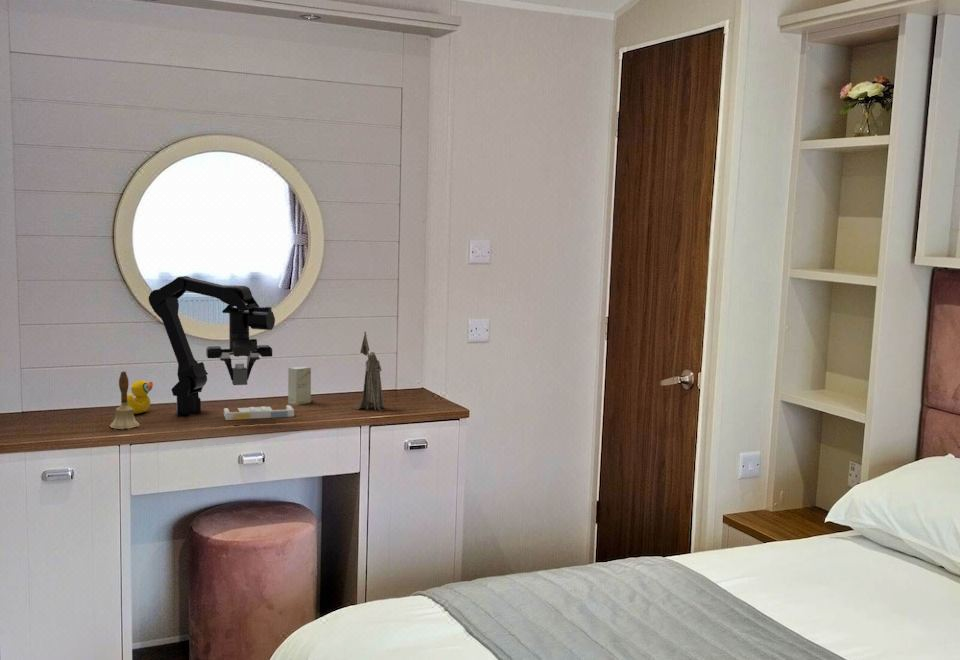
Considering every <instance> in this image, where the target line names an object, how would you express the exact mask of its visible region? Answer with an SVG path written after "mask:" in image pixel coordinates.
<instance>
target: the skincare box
mask: <svg viewBox="0 0 960 660" xmlns="http://www.w3.org/2000/svg"><path fill="white" fill-rule="evenodd" d="M311 368H312V367H310V366H304V365H300V366H294V367H288V370H287V373H288V374H287V375H288V376H287V377H288V379H287V382H288V386H287V387H288V388H287V391H288V392H287V396H288V397H287V399H288V400H287V403H288V405H295V406H301V405H305V404H309V403H311V402H312V379H311V378H312V377H311V376H312V375H311V374H312V372H311V371H312V369H311Z"/></svg>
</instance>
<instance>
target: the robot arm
mask: <svg viewBox="0 0 960 660" xmlns="http://www.w3.org/2000/svg"><path fill="white" fill-rule="evenodd" d="M186 292H190V293H195V294H199V295H203V296H207V297H211V298H216V299H218V300H219V301H221V302H222V303H225V304H226V307H225V308H224V309H223V310H222V311H221V312H222V313H223V314H228V315H229V323H228V324H229V325H228V328H229V329H228V331H229V335H228V336H229V337H228V338H229V348H222V347H221V346H207V347H206V353H205V355H206V356H205V357H207V359H219V360H220V361H221V362H224V364H225V366H226V369H227V371H228V374H229V377H230V380H231V382H232V381H233V372H232V368H233V365H232V358H231V356H234V357H238V358H239V357H247V358H246V369H247V381H249V377H250V375H251V372H252V369H253V366H254V364H255V363H256V361H259V360H260V356H261V357H262V358H266V357H268V358H269V357H273V348H272V347H271V346H270V345H268V344H262V345H261V344H258V340H257V339H256V338H250V329H252V330H260V331H261V330H263V331H272V330H273V329H274V327H275V323H276V318H275V313H274V312H273V311H272V307H271V306H265V307H264V306H259V304H258V302H257V301H256V299H255V298H254V296H253V294H252V291H251V289H250V288H249V287H248V286H246V285H234V284H233V285H232V284H231V285H230V284H229V285H223V284H219V283H214V282H210V281H207V280H202V279H197V278H192V277H190V276H189V275H185V276H183V275H181V276H178V277H176V278H174V279H173V280H172V281H170V282H168V283H167V284H164V286H162V287H160V288H159V289H153V290H152V291H151V292H150V293H149V296H148V303H149V305H150V306H151V308H152V310H153V312H154V313H155V314H156V315H157V316H158V317H159V318H160V319H161V321H162V323H163V326H164V329H165V331H166V335H167V336H168V339H169V342H170V345H171V349H172V350H173V353H174V356H175V359H176V362H177V379H178V381H177V383H176V384H175V385H174V386H173V387H172V388H171V393H172V395H173V397H176V410H175V413H176V416H177V417H182V416H181V415H188V416H190V415H198V414H200V413H201V410H202V408H201V405H202V403H201V402H202V401H201V397H200V395H199V393H201V392H202V391H203V388H204V386H205V385H206V383H207V382H208V376H207V375H208V374H209V373H208V372H207V370H206V368H205V364H204V362H202V361H201V362H198V361H197V360H196V359H195V357H194V354H193V352H192V350H191V347H190V344H189V341H188V338H187V336H186V333H185V330H184V328H183V325H182V323H181V320H180V317H179V308H180V307H179V306H180V304H179V300H178V299H180V298H181V297H182V296H183V295H184V294H185V293H186Z"/></svg>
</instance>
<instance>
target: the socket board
mask: <svg viewBox="0 0 960 660" xmlns="http://www.w3.org/2000/svg"><path fill="white" fill-rule="evenodd" d="M254 407H255V406H249V408H250V411H249V412H239V411H234V412H233V411H232V412H230V410H229V408H227V407H226V408H225V407H224V408H223V416H224V418H225V420H226V421H232V420H233V421H235V420H236V421H237V420H252V419H267V418H268V419H269V418H272V419H273V418H276V419H277V418H289V417H290V418H291V417H295V409H294V408H293V406H292V405H291V404H287V405H286V406H285V409H272V410H267V409H266V407H267V406H265V405H264V406H260V407H261V411H256V410H255V408H254Z"/></svg>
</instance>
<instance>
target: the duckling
mask: <svg viewBox="0 0 960 660" xmlns="http://www.w3.org/2000/svg"><path fill="white" fill-rule="evenodd" d="M153 386H154V384H153V382H152V381H149V382H148V381H146V380H143V379H142V380H141V379H139V380H136V381H135V382H133V383H132V386H131V388H130V390H131V391H130V392H131V393H132V394H131V393H127V401H128V402H127V403H128V406H130V407H132V408H133V414H134V415H138V414H139V415H140V414H143V413H145V412H146V411H147V410H148V408H149V407H150V405H151V398H150V397H149V396H148V394H149V392H150V391H152V389H153ZM134 396H135V397H134Z"/></svg>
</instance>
